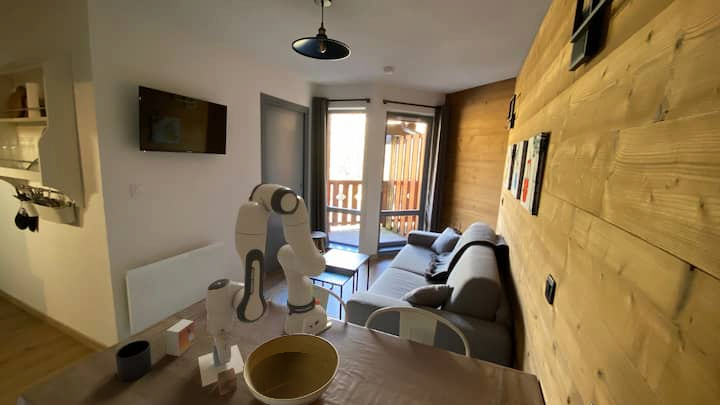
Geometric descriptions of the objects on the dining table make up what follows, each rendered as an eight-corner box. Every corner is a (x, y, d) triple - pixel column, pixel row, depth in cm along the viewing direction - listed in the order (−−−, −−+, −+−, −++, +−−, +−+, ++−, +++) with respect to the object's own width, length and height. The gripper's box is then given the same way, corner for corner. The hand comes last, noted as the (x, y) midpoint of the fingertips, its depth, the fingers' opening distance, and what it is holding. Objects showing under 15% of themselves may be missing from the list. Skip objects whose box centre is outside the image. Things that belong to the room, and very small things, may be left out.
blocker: (233, 380, 96) (233, 367, 95) (236, 390, 92) (236, 377, 91) (218, 386, 93) (217, 373, 92) (220, 396, 89) (220, 383, 88)
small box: (179, 357, 104) (177, 332, 103) (167, 354, 105) (165, 330, 104) (195, 343, 112) (194, 320, 110) (184, 341, 113) (182, 318, 111)
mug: (132, 358, 103) (130, 336, 101) (158, 364, 100) (156, 342, 99) (104, 377, 93) (101, 354, 92) (132, 384, 91) (130, 361, 90)
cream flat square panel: (236, 345, 113) (236, 344, 113) (246, 370, 100) (246, 369, 100) (198, 358, 104) (198, 357, 104) (202, 387, 92) (202, 386, 92)
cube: (227, 353, 105) (227, 342, 104) (229, 361, 101) (229, 349, 100) (213, 358, 102) (212, 346, 102) (214, 367, 98) (214, 354, 98)
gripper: (235, 335, 93) (236, 371, 95) (225, 307, 109) (225, 338, 111) (215, 342, 89) (216, 378, 92) (207, 312, 106) (208, 343, 108)
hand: (221, 356), depth 102 cm, fingers closed on cube, 5 cm apart
